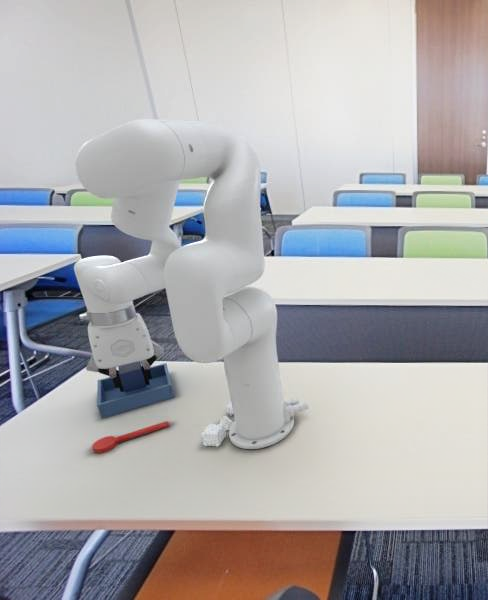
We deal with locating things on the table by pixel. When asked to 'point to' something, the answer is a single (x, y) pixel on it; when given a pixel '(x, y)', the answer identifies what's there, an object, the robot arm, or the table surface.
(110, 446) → the red spoon
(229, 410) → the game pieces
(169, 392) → the blue tray
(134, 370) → the blue block
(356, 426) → the table surface
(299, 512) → the table surface
